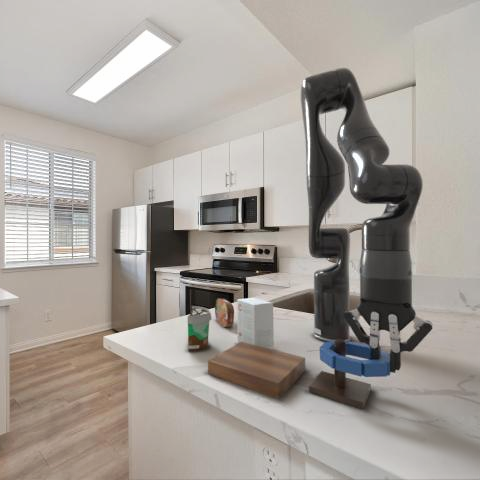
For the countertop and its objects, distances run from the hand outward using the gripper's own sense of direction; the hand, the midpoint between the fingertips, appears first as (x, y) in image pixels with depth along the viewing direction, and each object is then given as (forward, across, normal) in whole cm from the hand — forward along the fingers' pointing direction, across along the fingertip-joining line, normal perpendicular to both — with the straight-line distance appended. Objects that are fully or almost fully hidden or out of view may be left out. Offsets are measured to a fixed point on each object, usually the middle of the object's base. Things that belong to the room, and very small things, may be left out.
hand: (385, 368), depth 55 cm
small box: (+7, +30, -11) cm, 33 cm away
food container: (+7, +42, -2) cm, 43 cm away
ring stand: (+7, +7, 0) cm, 10 cm away
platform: (+7, +23, +3) cm, 24 cm away
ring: (0, +5, 0) cm, 5 cm away
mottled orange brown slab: (+7, +48, -25) cm, 55 cm away
